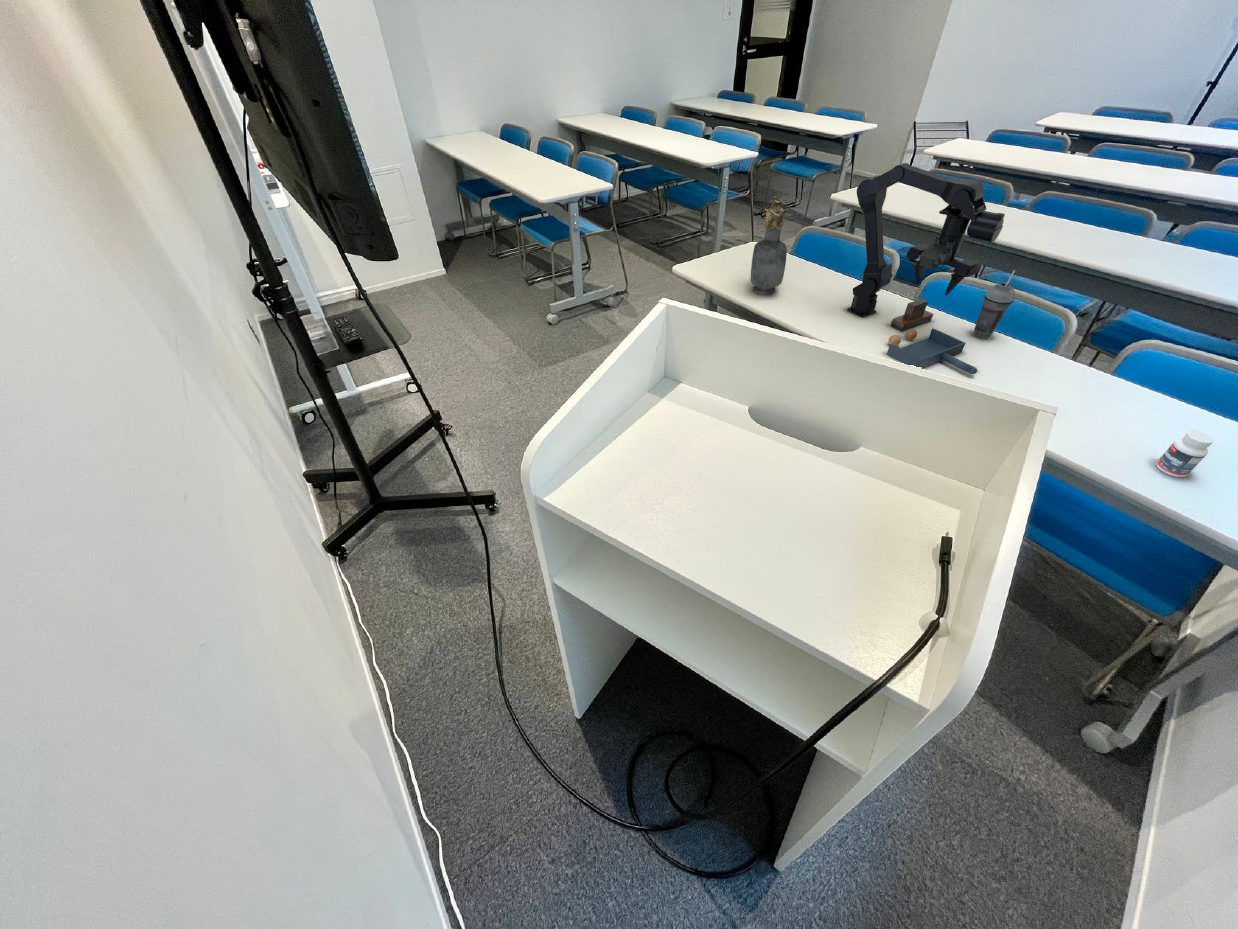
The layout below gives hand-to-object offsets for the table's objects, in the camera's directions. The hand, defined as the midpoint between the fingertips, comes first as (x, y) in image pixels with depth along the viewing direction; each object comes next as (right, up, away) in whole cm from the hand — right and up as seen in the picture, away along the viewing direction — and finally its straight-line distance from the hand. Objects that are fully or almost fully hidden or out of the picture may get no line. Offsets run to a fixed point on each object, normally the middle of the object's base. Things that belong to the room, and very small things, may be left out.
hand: (931, 289), depth 152 cm
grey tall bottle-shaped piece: (-39, +12, +35) cm, 53 cm away
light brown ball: (-10, -15, 0) cm, 18 cm away
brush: (0, -7, +11) cm, 13 cm away
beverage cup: (+17, -12, +4) cm, 22 cm away
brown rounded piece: (-4, -12, +3) cm, 13 cm away
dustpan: (-1, -22, -6) cm, 23 cm away
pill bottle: (+26, -52, -41) cm, 71 cm away
